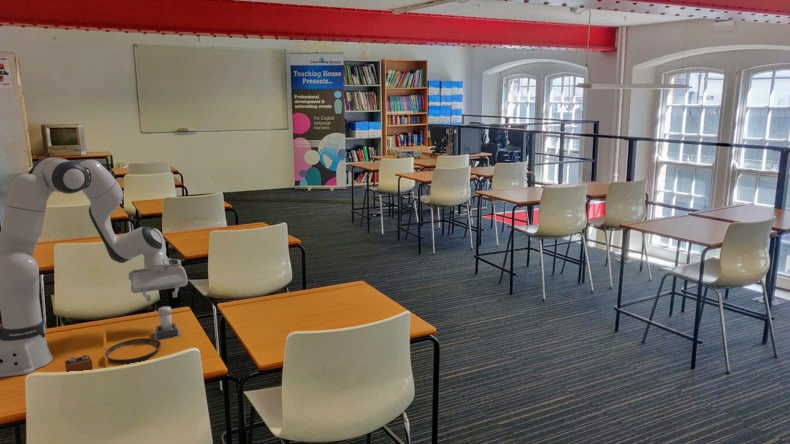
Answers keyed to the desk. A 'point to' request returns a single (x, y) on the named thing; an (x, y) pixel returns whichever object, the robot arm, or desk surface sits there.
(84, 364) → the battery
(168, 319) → the cylinder
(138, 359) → the dark grey ring
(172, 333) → the dark grey square tray
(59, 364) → the desk surface
